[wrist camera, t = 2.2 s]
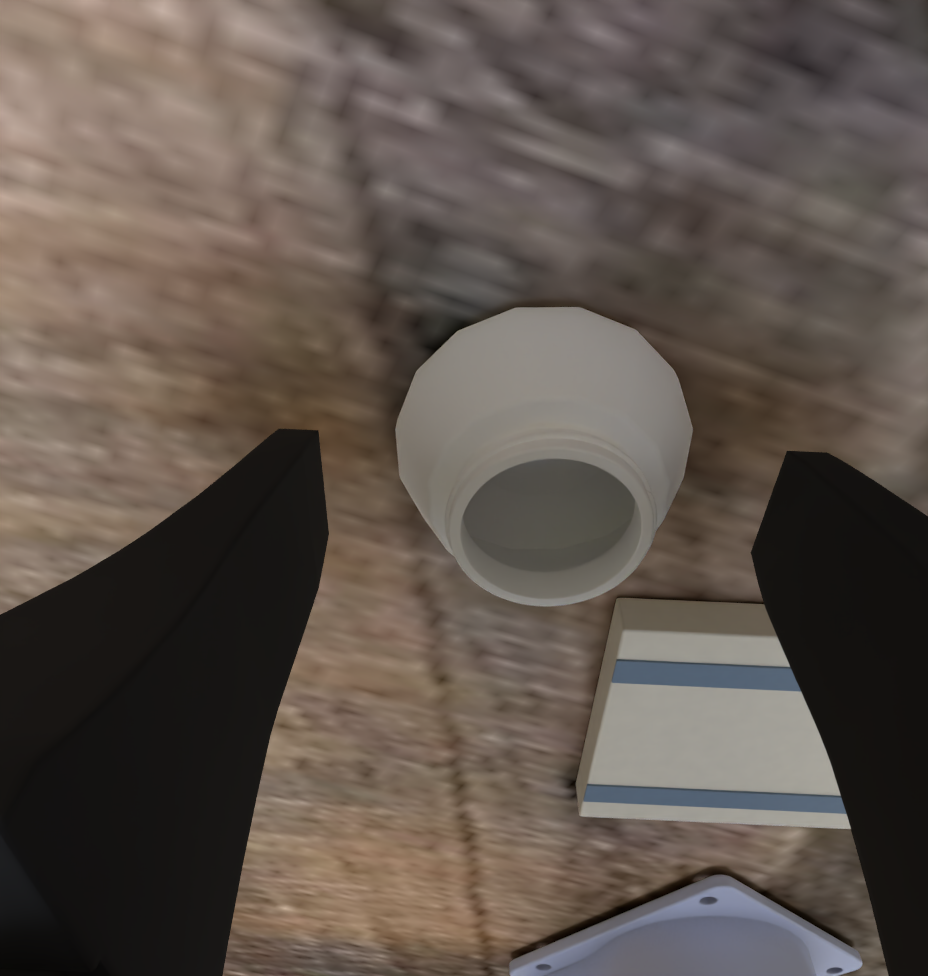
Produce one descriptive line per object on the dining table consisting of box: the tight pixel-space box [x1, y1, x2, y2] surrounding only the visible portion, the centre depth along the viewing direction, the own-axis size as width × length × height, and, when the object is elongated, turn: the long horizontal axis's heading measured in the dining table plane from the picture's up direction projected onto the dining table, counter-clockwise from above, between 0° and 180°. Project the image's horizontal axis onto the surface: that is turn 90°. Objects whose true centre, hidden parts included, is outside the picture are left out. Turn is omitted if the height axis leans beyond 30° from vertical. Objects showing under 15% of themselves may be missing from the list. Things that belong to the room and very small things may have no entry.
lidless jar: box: [395, 307, 693, 606], centre depth 12 cm, size 5×3×5 cm
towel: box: [576, 598, 851, 829], centre depth 17 cm, size 7×10×1 cm
